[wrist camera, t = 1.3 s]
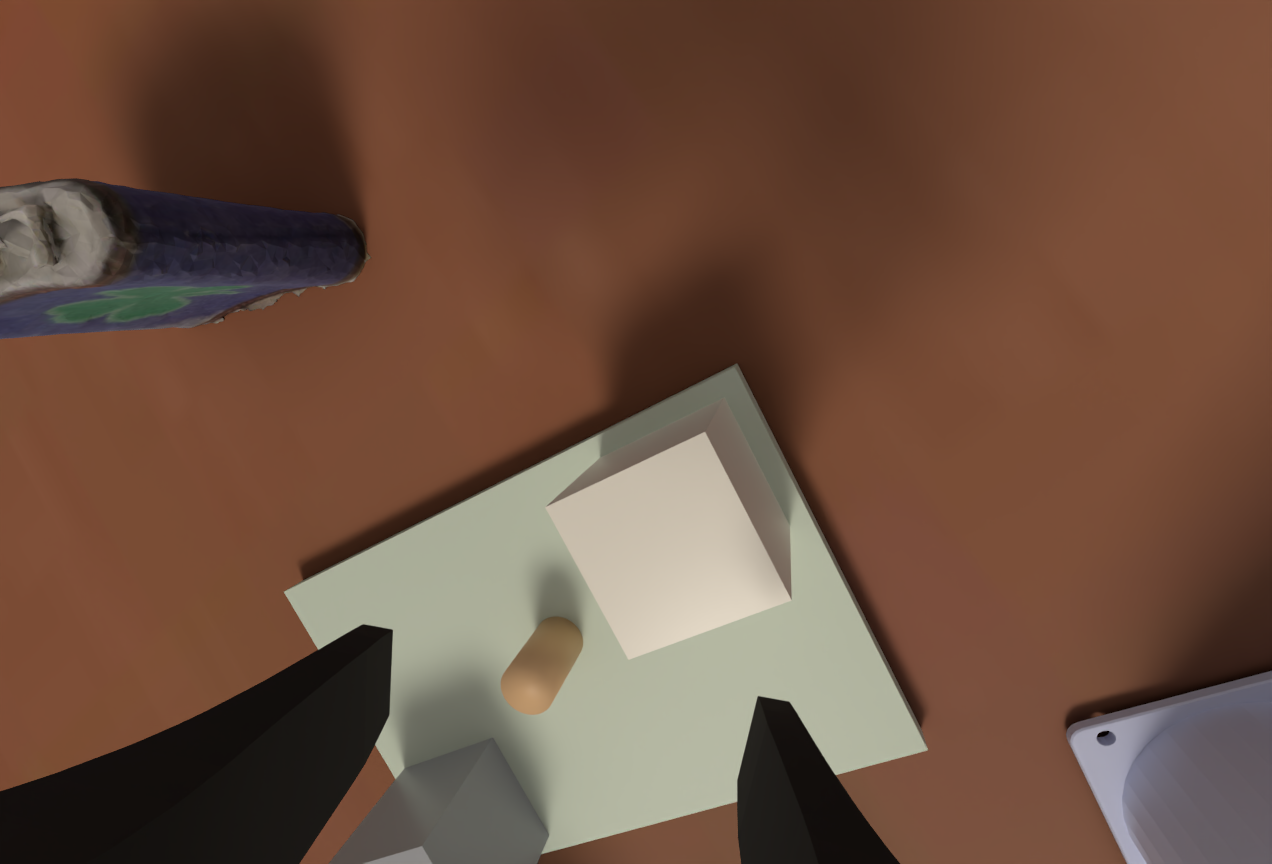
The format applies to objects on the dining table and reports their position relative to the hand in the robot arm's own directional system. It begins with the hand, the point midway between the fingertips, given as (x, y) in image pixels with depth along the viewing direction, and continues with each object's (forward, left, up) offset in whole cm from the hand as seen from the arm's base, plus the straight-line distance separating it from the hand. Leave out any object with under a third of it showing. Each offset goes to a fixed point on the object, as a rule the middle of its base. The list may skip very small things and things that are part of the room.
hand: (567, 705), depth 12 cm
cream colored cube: (-2, -1, -9) cm, 9 cm away
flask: (+9, -15, -11) cm, 20 cm away
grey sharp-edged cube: (+12, +7, -9) cm, 17 cm away
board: (+5, +3, -10) cm, 12 cm away
